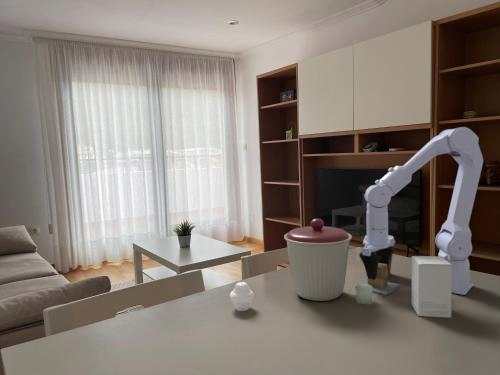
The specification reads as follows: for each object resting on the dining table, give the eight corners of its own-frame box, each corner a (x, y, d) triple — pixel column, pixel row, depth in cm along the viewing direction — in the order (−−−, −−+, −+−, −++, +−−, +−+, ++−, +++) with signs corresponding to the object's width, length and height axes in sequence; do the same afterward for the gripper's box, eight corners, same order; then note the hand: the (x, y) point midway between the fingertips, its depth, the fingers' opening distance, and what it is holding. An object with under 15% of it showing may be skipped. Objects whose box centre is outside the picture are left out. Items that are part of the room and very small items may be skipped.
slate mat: (369, 280, 114) (369, 278, 114) (399, 286, 108) (399, 284, 108) (355, 288, 107) (355, 286, 107) (386, 295, 101) (386, 293, 101)
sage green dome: (360, 297, 101) (360, 282, 100) (375, 300, 98) (375, 285, 98) (353, 301, 98) (353, 286, 97) (368, 305, 95) (368, 290, 95)
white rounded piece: (259, 307, 96) (258, 281, 95) (242, 315, 91) (241, 287, 91) (242, 302, 100) (241, 276, 100) (225, 309, 96) (224, 282, 95)
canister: (277, 302, 99) (274, 223, 97) (295, 280, 115) (293, 212, 114) (347, 311, 92) (346, 226, 90) (356, 286, 109) (355, 214, 107)
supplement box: (452, 318, 86) (452, 264, 85) (417, 316, 88) (417, 263, 87) (442, 305, 93) (443, 255, 92) (410, 304, 95) (410, 255, 94)
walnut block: (374, 282, 110) (373, 262, 110) (387, 284, 107) (387, 264, 107) (367, 285, 107) (367, 265, 107) (381, 288, 104) (381, 267, 104)
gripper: (374, 222, 114) (374, 266, 115) (351, 230, 103) (352, 279, 104) (398, 224, 109) (398, 270, 110) (376, 233, 98) (377, 284, 100)
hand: (377, 275), depth 107 cm, fingers open, 7 cm apart
